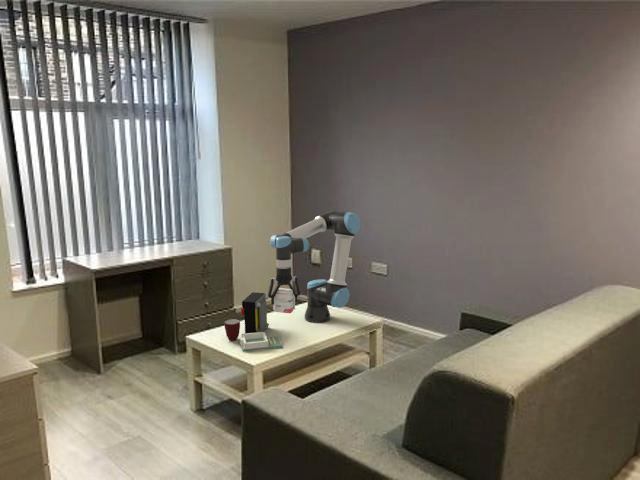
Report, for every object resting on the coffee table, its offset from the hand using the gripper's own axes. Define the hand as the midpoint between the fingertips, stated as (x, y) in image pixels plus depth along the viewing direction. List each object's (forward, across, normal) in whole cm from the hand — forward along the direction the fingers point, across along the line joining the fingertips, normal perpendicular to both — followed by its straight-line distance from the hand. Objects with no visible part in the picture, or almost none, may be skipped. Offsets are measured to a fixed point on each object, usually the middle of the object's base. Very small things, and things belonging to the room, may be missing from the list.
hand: (284, 309), depth 273 cm
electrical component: (+18, +12, -20) cm, 29 cm away
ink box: (+1, 0, 0) cm, 1 cm away
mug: (+18, +26, -13) cm, 35 cm away
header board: (+18, +12, -1) cm, 22 cm away
